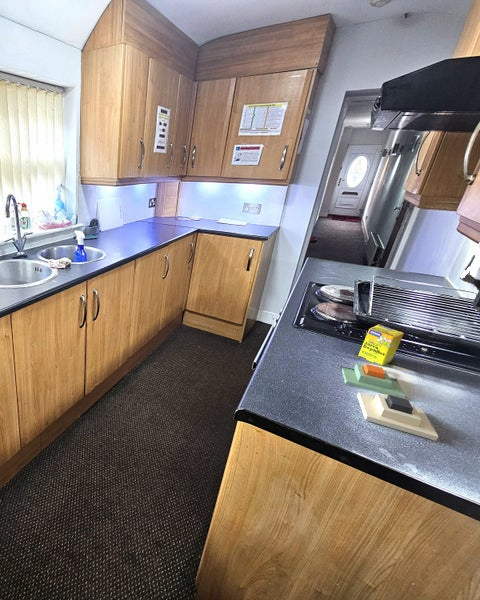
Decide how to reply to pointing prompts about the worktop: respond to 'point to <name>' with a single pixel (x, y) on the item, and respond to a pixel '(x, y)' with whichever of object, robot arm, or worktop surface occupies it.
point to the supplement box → (380, 344)
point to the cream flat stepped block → (396, 416)
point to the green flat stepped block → (371, 381)
